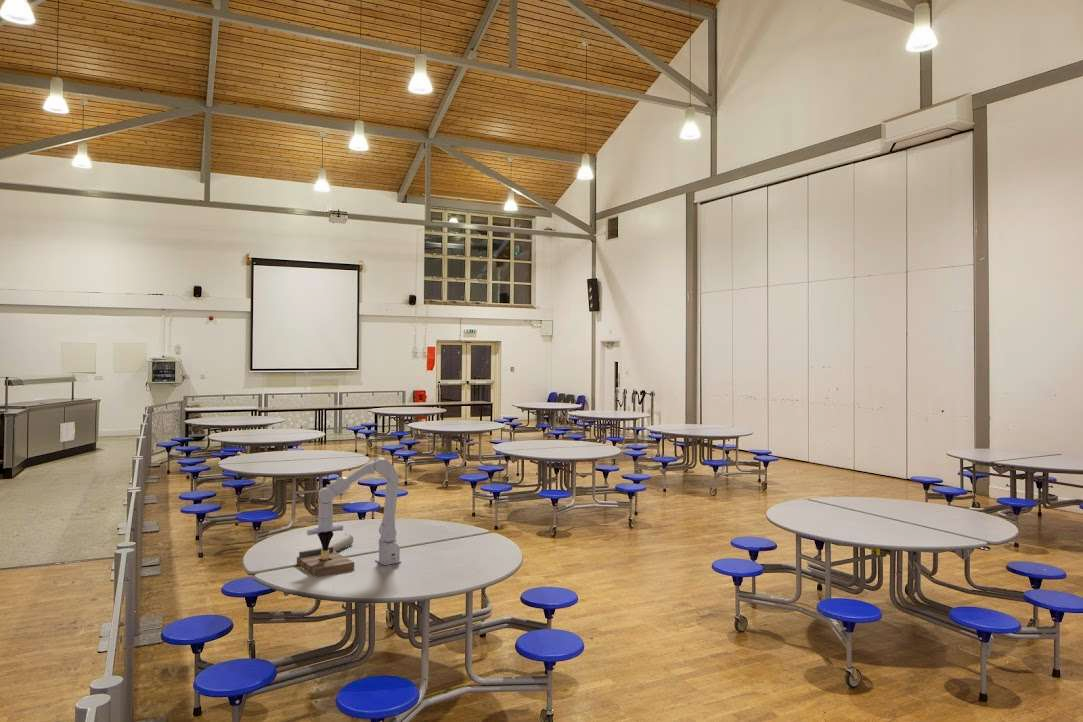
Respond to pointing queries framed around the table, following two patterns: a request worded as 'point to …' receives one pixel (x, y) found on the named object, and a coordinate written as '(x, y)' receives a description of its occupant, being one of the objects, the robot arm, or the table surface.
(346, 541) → the tube
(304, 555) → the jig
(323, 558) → the brass cylinder
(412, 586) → the table surface
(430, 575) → the table surface
